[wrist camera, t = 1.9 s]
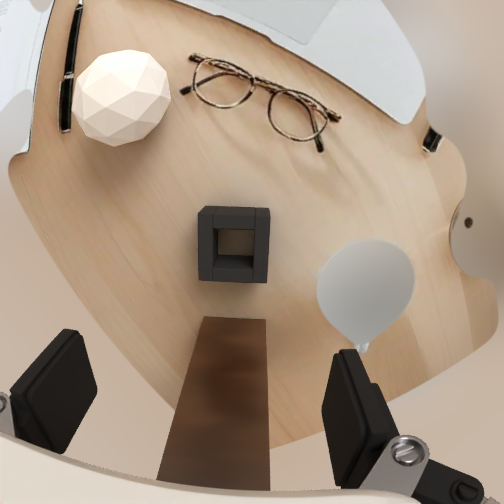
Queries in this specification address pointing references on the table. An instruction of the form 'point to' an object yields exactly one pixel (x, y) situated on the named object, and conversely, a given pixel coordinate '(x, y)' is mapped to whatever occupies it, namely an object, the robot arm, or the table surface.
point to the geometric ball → (121, 97)
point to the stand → (222, 411)
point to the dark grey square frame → (233, 265)
